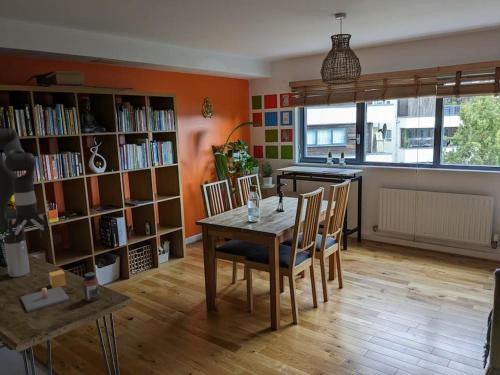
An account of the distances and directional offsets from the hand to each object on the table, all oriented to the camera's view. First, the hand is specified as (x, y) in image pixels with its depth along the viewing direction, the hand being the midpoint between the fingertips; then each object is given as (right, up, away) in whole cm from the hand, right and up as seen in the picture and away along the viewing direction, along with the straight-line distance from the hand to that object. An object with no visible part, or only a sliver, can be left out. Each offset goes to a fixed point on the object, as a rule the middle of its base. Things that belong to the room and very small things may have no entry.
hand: (30, 240), depth 162 cm
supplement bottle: (+23, -26, +7) cm, 35 cm away
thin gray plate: (+2, -26, +7) cm, 28 cm away
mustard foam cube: (+1, -24, +22) cm, 33 cm away
